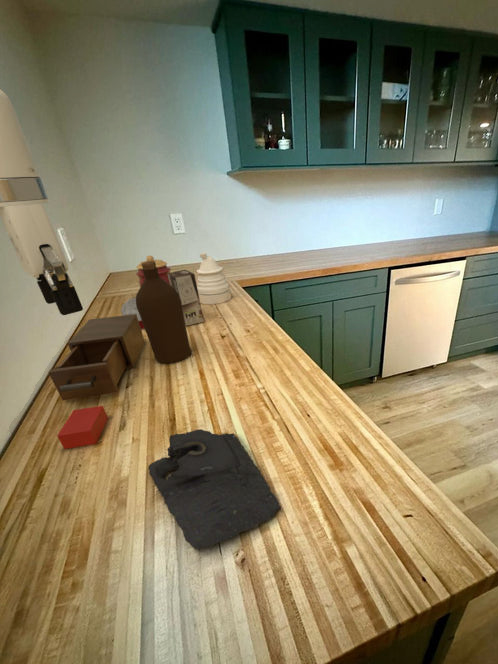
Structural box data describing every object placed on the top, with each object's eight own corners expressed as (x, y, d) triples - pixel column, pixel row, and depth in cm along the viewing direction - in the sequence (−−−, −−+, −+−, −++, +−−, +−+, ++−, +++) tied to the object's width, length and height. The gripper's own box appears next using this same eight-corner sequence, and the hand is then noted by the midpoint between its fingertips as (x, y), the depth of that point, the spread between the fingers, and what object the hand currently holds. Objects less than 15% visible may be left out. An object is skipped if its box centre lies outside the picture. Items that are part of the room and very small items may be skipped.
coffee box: (205, 321, 114) (195, 273, 106) (186, 326, 111) (174, 277, 103) (196, 314, 121) (186, 268, 113) (178, 318, 118) (166, 272, 110)
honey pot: (215, 305, 128) (206, 257, 119) (192, 301, 134) (181, 254, 125) (237, 296, 138) (230, 250, 128) (215, 292, 144) (206, 248, 135)
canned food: (157, 331, 121) (165, 307, 117) (143, 340, 112) (150, 314, 108) (128, 317, 120) (134, 292, 116) (110, 325, 111) (116, 298, 107)
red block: (96, 443, 62) (90, 430, 61) (64, 449, 61) (56, 435, 60) (108, 418, 69) (102, 405, 67) (79, 422, 68) (73, 410, 67)
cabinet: (133, 368, 88) (122, 336, 83) (81, 375, 86) (67, 343, 81) (145, 342, 102) (136, 313, 97) (100, 348, 100) (89, 319, 95)
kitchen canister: (173, 293, 146) (162, 251, 137) (181, 300, 136) (170, 255, 128) (142, 299, 141) (128, 255, 132) (147, 307, 131) (134, 260, 122)
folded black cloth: (179, 575, 40) (169, 552, 38) (147, 464, 57) (139, 442, 54) (289, 514, 47) (287, 491, 44) (232, 430, 63) (228, 410, 61)
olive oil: (171, 368, 86) (143, 269, 74) (144, 359, 91) (114, 265, 79) (201, 351, 94) (180, 259, 81) (175, 344, 99) (152, 256, 86)
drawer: (112, 402, 72) (100, 373, 69) (54, 411, 71) (39, 381, 67) (132, 361, 89) (123, 336, 85) (85, 367, 87) (74, 342, 83)
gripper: (-23, 197, 52) (28, 303, 61) (-9, 195, 41) (51, 325, 50) (33, 193, 57) (74, 293, 65) (60, 190, 46) (104, 310, 54)
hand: (64, 306), depth 58 cm, fingers open, 9 cm apart
